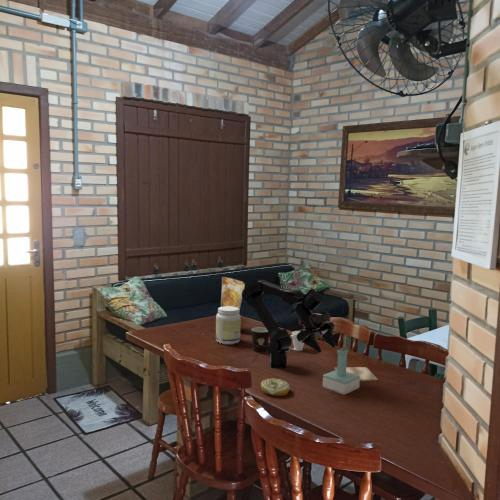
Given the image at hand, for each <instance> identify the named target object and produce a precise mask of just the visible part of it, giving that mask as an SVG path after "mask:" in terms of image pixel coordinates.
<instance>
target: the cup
mask: <svg viewBox="0 0 500 500" xmlns="http://www.w3.org/2000/svg"><path fill="white" fill-rule="evenodd" d="M300 331H301V330H295V331H292V332H291V335H290V336H291V337H290V338H292V344H293V348H292V347H291V346H290V347H289V349H291V350H293V351H298V352H302V351H303V348H304V345H305V343H302V341H301V342H299V341H298V339H297V334H298V333H299V332H300Z"/></svg>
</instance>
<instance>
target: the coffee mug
mask: <svg viewBox="0 0 500 500" xmlns="http://www.w3.org/2000/svg"><path fill="white" fill-rule="evenodd" d="M251 338H252V339H251V340H252V350H253V351H254V352H255V353H261V354H262V353H266V352H267V346H269V345H270V344H271V342H269V340H270V334H269V332H268V331H267V329H266V328H265V327H260V326H259V327H253V328H251Z"/></svg>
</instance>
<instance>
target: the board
mask: <svg viewBox="0 0 500 500" xmlns="http://www.w3.org/2000/svg"><path fill="white" fill-rule="evenodd" d="M335 370H337V366H336V367H335V366H334V371H335ZM346 372H349V373H352V374H355V375H358V376H360V382H377V381H378V380H379V379H378V378H377V377H376V376H375V375H374V374H373V373H372V371H370V369H369V368H368V367H366V366H364V367H362V366H356V367H355V366H348V367H347V366H346Z"/></svg>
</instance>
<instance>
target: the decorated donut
mask: <svg viewBox="0 0 500 500" xmlns="http://www.w3.org/2000/svg"><path fill="white" fill-rule="evenodd" d="M260 387H261V390H262V392H263V393H264V394H266V395H268V396H272V397H282V396H286V395H288V394H289V392H290V389H291V387H290V384H289V383H288V382H287V381H286V380H283V379H281V378H272V377H271V378H267V379H264V380H262V381H261V383H260Z"/></svg>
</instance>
